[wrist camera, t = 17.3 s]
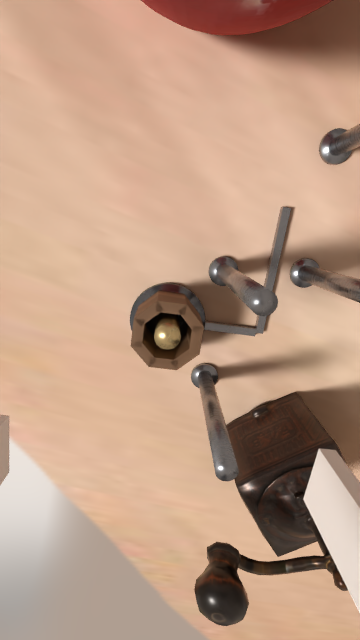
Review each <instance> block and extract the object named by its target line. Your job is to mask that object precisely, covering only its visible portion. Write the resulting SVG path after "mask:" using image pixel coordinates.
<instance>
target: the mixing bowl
mask: <svg viewBox="0 0 360 640" xmlns="http://www.w3.org/2000/svg"><path fill="white" fill-rule="evenodd" d="M141 1H142V2H144V3H145V4H146V5H147V6H149V7H150V8H151V9H153V10H154V11H155V12H157V13H159V14H161V15H162V16H164V17H166V18H168V19H169V20H171V21H173V22H175V23H177V24H179V25H181V26H184V27H186V28H189V29H192V30H196V31H201V32H205V33H209V34H215V35H241V34H249V33H256V32H260V31H264V30H267V29H271V28H274V27H278V26H281V25H284V24H286V23H289V22H292V21H294V20H297V19H299V18H301V17H303V16H305V15H307V14H309V13H311V12H313V11H315V10H317V9H319V8H320V7H322V6H324V5H326V4H328V3H329V2H331V1H333V0H141Z"/></svg>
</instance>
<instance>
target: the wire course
mask: <svg viewBox="0 0 360 640" xmlns="http://www.w3.org/2000/svg"><path fill="white" fill-rule="evenodd" d="M359 146H360V124H359V125H357V126H355V127H353V128H351V129H350V130H348V131H346V130H344V129H340V128H339V129H334V130H332V131H330V132H328V133H327V134H326V135H325V136H324V137H323V139H322V140H321V143H320V148H319V152H320V156H321V158H322V159H323V161H324V162H326V163H327V164H330V165H336V164H339V163H342V162H343V161H345V160H346V159H347V158H348V157H349V156H350V154H351V152H352V149H355V148H357V147H359ZM290 211H291V208H287V207H281V210H280V214H279V219H278V224H277V228H276V233H275V238H274V242H273V247H272V251H271V256H270V261H269V265H268V270H267V274H266V279H265V284H264V286H262V285H261V284H259V283H257V282H256V281H254V280H252V279H251V278H249V277H247V276H246V275H244V274H242V273H241V272H239V271H238V266H237V264H236V262H235V261H234V260H233V259H231V258H229V257H225V256H222V257H218V258H216V259H215V260H213V261H212V263H211V264H210V267H209V276H210V278H211V280H212V281H213V282H214V283H215V284H217V285H220V286H228V287H229V288H230V289H231V290H232V291H233V292H234V293H235V294H236V295H237V296H238V297H239V298H240V299H241V300H242V301H243V302H244V303H245V304H246V305H247V306H248V307H249V308H250V309H251V310H252V311H253V312H254V313H255V314H257V315H258V316H257V321H256V325H255V327H247V326H239V325H232V324H224V323H216V322H209V321H205V327H204V330H211V331H219V332H227V333H234V334H242V335H250V336H255V333H262V334H263V331H264V326H265V322H266V317H267V315H270V314H271V313H273V312H274V311H275V309H276V307H277V304H278V299H277V296H276V295H275V293H273V292H272V291H273V286H274V282H275V277H276V273H277V268H278V264H279V259H280V255H281V251H282V246H283V242H284V237H285V233H286V228H287V224H288V219H289V215H290ZM290 279H291V281H292V282H293V283H294V284H295V285H296V286H299V287H302V288H305V287H309V286H311V285H315V286H318V287H320V288H323V289H325V290H328V291H331V292H333V293H336V294H338V295H341V296H344V297H346V298H349V299H351V300H354V301H357V302H359V303H360V279H357V278H353V277H349V276H345V275H341V274H338V273H334V272H330V271H326V270H322V269H320V268H319V266H318V264H317V263H316V262H315V261H314V260H312V259H308V258H303V259H300V260H298V261H296V262H295V263H294V264H293V266H292V267H291V270H290ZM191 379H192V382H193V384H194V385H195V386H196V387H198V388H200V393H201V398H202V404H203V409H204V414H205V420H206V425H207V430H208V436H209V441H210V446H211V451H212V457H213V462H214V467H215V473H216V476H217V477H218V478H219V479H220V480H222V481H231V480H233V479H234V478H236V477H237V475H238V472H239V469H238V466H237V462H236V459H235V455H234V452H233V448H232V445H231V441H230V438H229V434H228V431H227V427H226V424H225V420H224V417H223V414H222V410H221V407H220V403H219V400H218V396H217V393H216V389H215V386H214V385H215V383H216V382H217V379H218V374H217V371H216V369H215V368H214V367H213V366H212V365H210V364H207V363H203V364H199V365H197V366H196V367H195V368H194V369H193V371H192V373H191Z"/></svg>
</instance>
